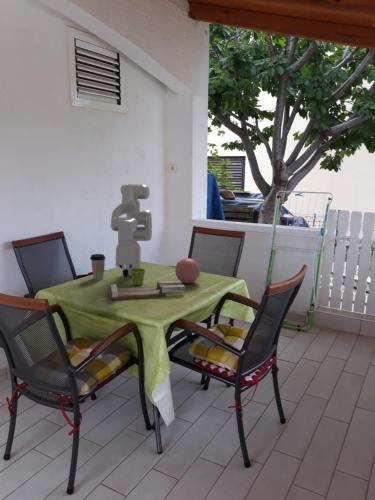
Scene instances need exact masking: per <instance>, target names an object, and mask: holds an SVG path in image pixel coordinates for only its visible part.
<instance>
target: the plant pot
mask: <svg viewBox="0 0 375 500" xmlns="http://www.w3.org/2000/svg"><path fill="white" fill-rule="evenodd" d="M130 272H131V275H132V276H131V279H132V280H131V281H132V285H133V286H142V285H143V283H144V278H145V277H144V276H145V272H146V269H145V268H143V267H141V268H134V269H131V270H130Z"/></svg>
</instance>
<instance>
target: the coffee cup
mask: <svg viewBox="0 0 375 500" xmlns="http://www.w3.org/2000/svg"><path fill="white" fill-rule="evenodd" d="M89 258H90V259H89V260H90V262H91V263H90V264H91V270H92V275H93V276H92V278H93V279H94V280H95V281H100V280H103V279H104V274H105V273H104V272H105V263H106V262H105V259H107V258H106V256H105V254H103V253H94V254H91V256H90V257H89Z"/></svg>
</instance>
